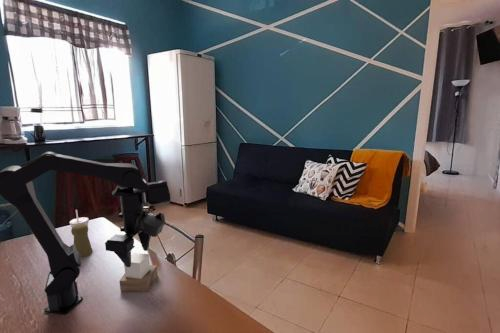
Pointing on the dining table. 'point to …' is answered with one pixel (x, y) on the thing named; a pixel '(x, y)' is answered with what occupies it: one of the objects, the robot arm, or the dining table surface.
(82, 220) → the smoothie
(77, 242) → the olive drink cup
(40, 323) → the dining table surface
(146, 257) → the white cube
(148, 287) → the tan flat block
